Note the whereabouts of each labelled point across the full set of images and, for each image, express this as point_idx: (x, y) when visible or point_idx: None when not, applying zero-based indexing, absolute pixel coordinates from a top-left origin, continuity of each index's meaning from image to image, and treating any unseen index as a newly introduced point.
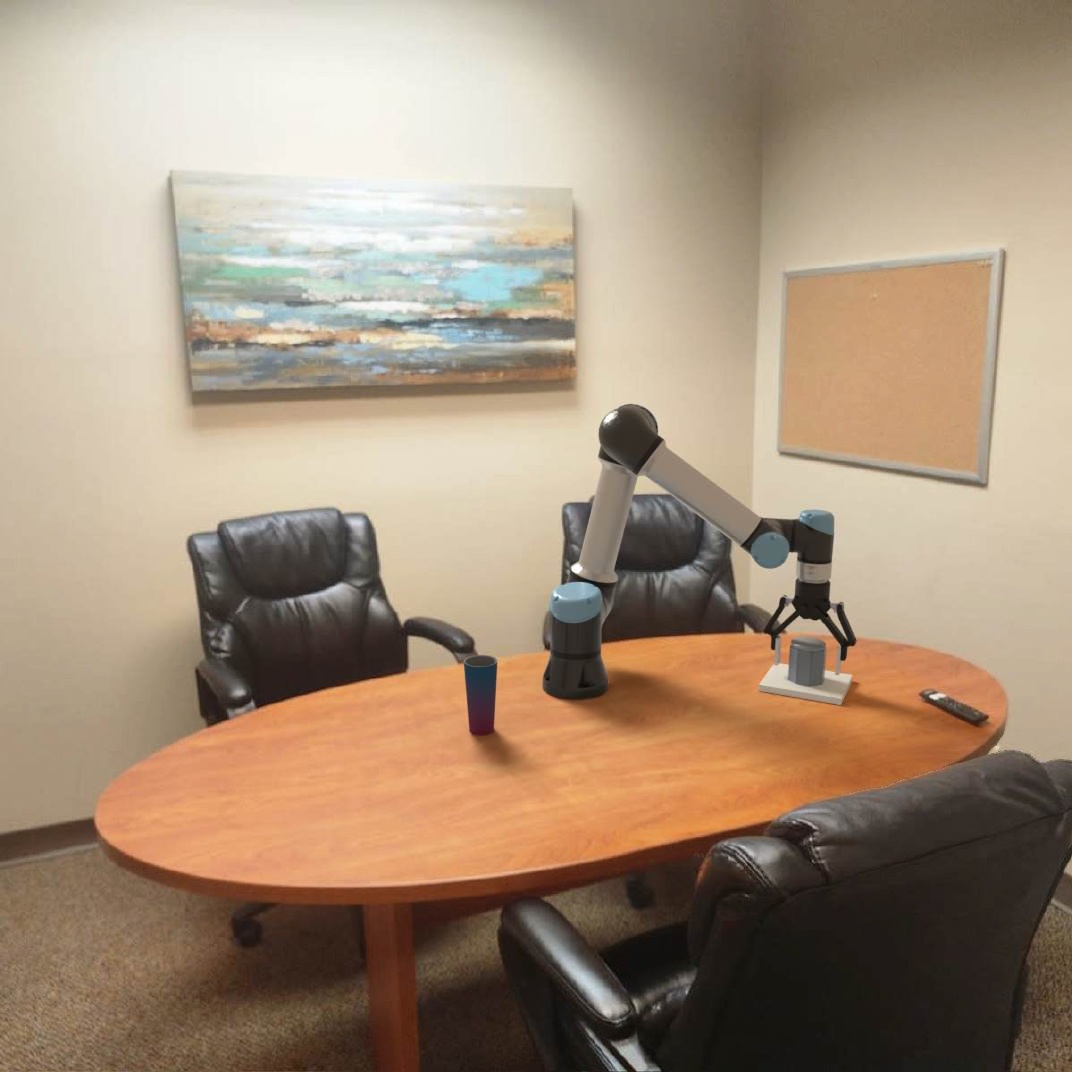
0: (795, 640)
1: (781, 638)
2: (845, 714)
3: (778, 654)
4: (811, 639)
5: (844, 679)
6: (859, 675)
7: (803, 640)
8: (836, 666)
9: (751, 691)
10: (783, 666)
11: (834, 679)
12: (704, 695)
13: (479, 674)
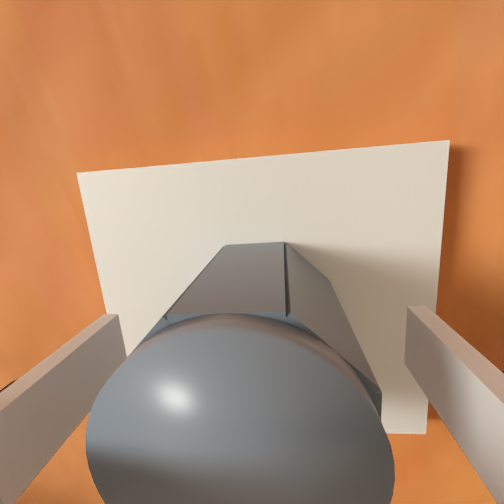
0: (120, 468)
1: (2, 409)
2: (435, 471)
3: (93, 398)
4: (231, 387)
5: (416, 228)
6: (464, 35)
7: (176, 443)
8: (430, 397)
9: None
10: (127, 204)
11: (371, 251)
12: (40, 492)
13: None
